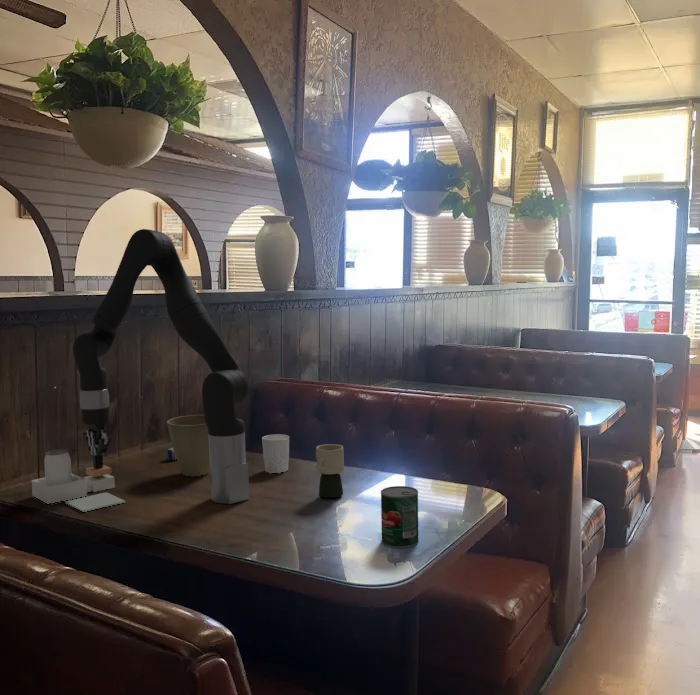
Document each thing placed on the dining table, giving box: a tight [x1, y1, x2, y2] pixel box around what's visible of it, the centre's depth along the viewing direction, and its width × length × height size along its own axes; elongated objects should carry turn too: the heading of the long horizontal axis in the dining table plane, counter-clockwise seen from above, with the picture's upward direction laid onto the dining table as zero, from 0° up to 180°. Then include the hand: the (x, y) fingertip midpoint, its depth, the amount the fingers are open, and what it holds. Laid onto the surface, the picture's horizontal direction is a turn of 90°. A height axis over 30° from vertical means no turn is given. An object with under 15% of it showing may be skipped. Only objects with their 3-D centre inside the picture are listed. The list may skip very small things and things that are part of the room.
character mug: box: [315, 443, 345, 499], centre depth 193 cm, size 11×7×13 cm, turn 152°
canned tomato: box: [380, 485, 419, 549], centre depth 160 cm, size 8×8×11 cm
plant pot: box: [166, 414, 210, 478], centre depth 218 cm, size 15×15×16 cm
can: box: [43, 449, 73, 486], centre depth 199 cm, size 6×6×12 cm
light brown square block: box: [85, 464, 113, 479], centre depth 206 cm, size 5×5×4 cm
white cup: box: [261, 433, 290, 474], centre depth 220 cm, size 8×8×10 cm
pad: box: [64, 492, 126, 513], centre depth 193 cm, size 11×11×1 cm
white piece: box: [31, 473, 116, 504], centre depth 202 cm, size 10×19×4 cm, turn 132°
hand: (98, 467), depth 206 cm, fingers closed
